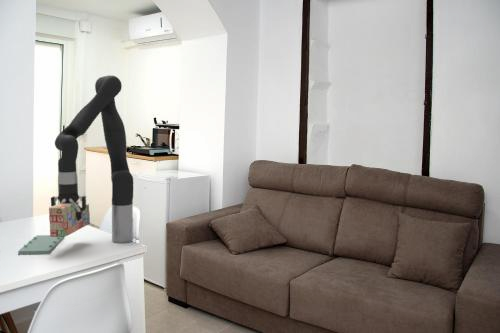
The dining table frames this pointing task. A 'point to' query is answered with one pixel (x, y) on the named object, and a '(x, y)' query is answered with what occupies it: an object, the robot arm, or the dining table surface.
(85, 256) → the dining table surface
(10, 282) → the dining table surface
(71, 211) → the stack of blocks
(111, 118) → the robot arm
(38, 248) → the baseplate
